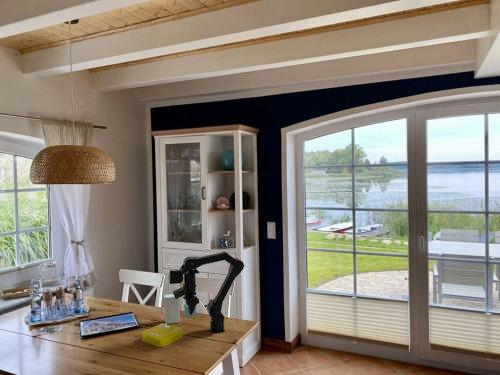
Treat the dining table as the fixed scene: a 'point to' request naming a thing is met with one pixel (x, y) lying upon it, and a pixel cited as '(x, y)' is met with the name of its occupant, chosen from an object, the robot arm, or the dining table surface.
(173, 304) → the skincare box
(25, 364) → the dining table surface
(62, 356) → the dining table surface
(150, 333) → the element tile
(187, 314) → the block
